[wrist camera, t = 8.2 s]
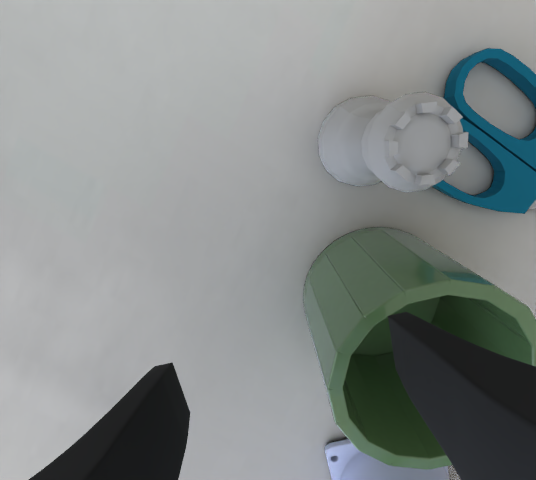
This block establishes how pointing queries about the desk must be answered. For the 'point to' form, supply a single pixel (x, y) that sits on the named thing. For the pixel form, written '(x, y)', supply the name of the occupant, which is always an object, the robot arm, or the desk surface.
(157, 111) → the desk surface
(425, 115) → the rook chess piece
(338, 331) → the planter
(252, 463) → the desk surface
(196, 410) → the desk surface
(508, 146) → the scissors
